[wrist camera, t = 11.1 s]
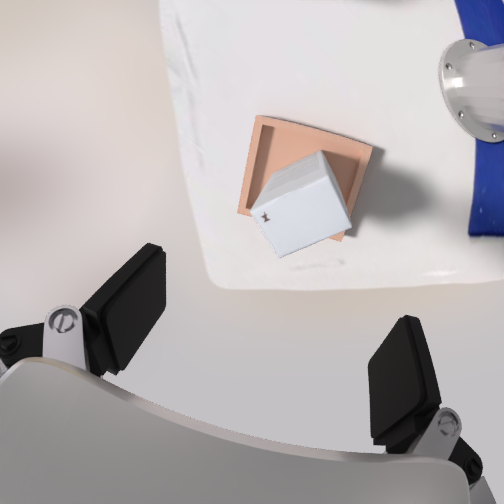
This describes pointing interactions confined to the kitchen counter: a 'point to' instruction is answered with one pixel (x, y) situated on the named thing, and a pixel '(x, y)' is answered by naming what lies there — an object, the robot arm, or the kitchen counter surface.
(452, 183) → the kitchen counter surface
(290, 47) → the kitchen counter surface
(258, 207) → the skincare box
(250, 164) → the tray
